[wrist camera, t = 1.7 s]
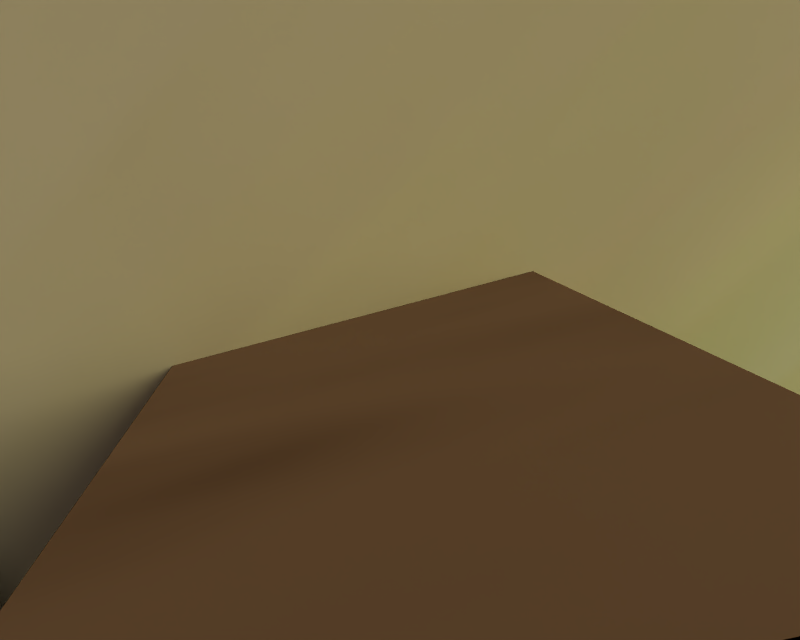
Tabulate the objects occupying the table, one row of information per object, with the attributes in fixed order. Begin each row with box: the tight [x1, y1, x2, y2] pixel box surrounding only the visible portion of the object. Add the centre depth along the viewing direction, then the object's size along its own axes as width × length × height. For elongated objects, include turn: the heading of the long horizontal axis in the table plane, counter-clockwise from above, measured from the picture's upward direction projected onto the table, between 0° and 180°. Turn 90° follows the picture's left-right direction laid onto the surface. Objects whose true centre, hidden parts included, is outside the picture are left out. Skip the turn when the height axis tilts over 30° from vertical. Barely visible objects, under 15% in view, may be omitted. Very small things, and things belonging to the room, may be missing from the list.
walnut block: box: [0, 271, 800, 640], centre depth 6 cm, size 6×6×6 cm
